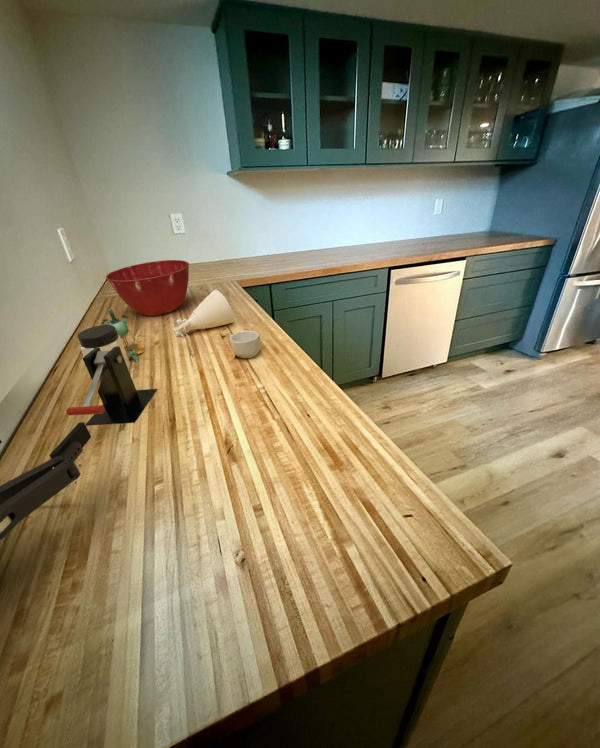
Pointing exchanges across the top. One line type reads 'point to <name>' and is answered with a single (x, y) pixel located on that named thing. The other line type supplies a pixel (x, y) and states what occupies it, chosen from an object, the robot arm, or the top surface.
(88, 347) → the jar
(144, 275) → the mixing bowl
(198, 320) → the rocket engine
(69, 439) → the robot arm
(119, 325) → the frog figurine
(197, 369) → the top surface
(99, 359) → the lever
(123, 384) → the bracket
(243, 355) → the teacup
